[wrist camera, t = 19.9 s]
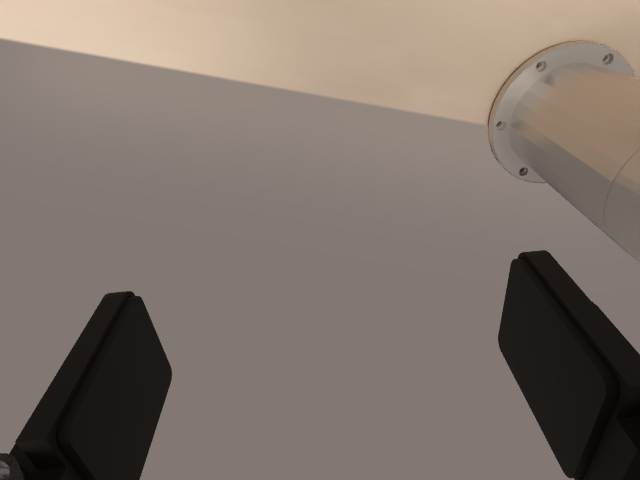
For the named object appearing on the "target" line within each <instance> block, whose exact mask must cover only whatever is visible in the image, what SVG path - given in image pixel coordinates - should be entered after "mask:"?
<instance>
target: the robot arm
mask: <svg viewBox="0 0 640 480" xmlns="http://www.w3.org/2000/svg"><path fill="white" fill-rule="evenodd" d="M538 63H539V66H538V67H536V66H537V64H538ZM499 122H500V123H499ZM498 123H499V125H497V124H498ZM488 132H489V142H490V146H491V150H492V152H493V154H494V156H495V158H496V160H497V161H498V162H499V163H500V164H501V166H502V167H503V168H504V169H505V170H507V171H508V172H509V173H510V174H511V175H513V176H515V177H517V178H518V179H521V180H525V181H529V182H534V183H548V184H549V185H550V186H552V187H553V188H554V189H555V190H556V191H557V192H558V193H560V194H561V195H562V196H563V197H564V198H565V199H566V200H568V201H569V202H570V203H571V204H572V205H573V206H574V207H575V208H577V209H578V210H579V211H580V212H581V213H582V214H583V215H585V216H586V217H587V218H588V219H589V220H591V222H593V223H594V224H595V225H596V226H597V227H598V228H599V229H601V230H602V231H603V232H604V233H605V234H606V235H608V236H609V237H610V238H611V239H612V240H613V241H614V242H616V243H617V244H618V245H619V246H620V247H621V248H622V249H624V250H625V251H626V252H627V253H628V254H630V255H631V256H632V257H634V258H635V259H637V260H638V261H640V80H639V79H636V78H635V77H634V74H633V70H632V68H631V67H630V65H629V64H628V62H627V60H626V59H625V58H624V57H623V56H622V55H621V54H620V53H618V52H617V51H616V50H614V49H612V48H610V47H608V46H606V45H602V44H599V43H595V42H587V41H574V42H566V43H562V44H559V45H556V46H553V47H550V48H548V49H546V50H544V51H542V52H540V53H538V54H536V55H535V56H533V57H532V58H531V59H529V60H528V61H526V62H525V63H524V64H523V65H522V66H521V67H519V68H518V69H517V70H516V71H515V72H514V73H513V74H512V75H511V77H510V78H509V79H508V81H507V82H506V83H505V85H504V86H503V87H502V89H501V91H500V93H499V94H498V96H497V98H496V100H495V102H494V105H493V108H492V111H491V114H490V120H489V126H488ZM498 342H499V347H500V350H501V352H502V354H503V356H504V358H505V360H506V362H507V364H508V366H509V367H510V370H511V371H512V373H513V375H514V377H515V379H516V381H517V383H518V385H519V387H520V389H521V391H522V393H523V395H524V397H525V398H526V400H527V402H528V404H529V406H530V408H531V410H532V412H533V414H534V416H535V418H536V420H537V422H538V424H539V426H540V427H541V430H542V431H543V433H544V435H545V437H546V439H547V441H548V443H549V445H550V447H551V449H552V451H553V453H554V455H555V457H556V459H557V461H558V462H559V464H560V466H561V468H562V470H563V472H564V473H565V475H566V476H567V477H569V478H574V479H575V480H640V355H639V353H638V352H637V351H636V350H635V349H634V348H633V347H632V345H631V344H630V343H629V342H628V341H627V340H626V339H625V337H624V336H623V335H622V334H621V333H620V331H619V330H618V329H617V328H616V327H615V326H614V325H613V323H612V322H611V321H610V320H609V319H608V318H607V317H606V315H605V314H604V313H603V312H602V311H601V310H600V309H599V307H598V306H597V305H595V304H594V303H593V302H591V301H590V299H589V298H588V297H587V296H586V295H585V294H584V292H583V291H582V290H581V289H580V288H579V287H578V286H577V284H576V283H575V282H574V281H573V280H572V279H571V277H570V276H569V275H568V274H567V273H566V272H565V271H564V269H563V268H562V267H561V266H560V265H559V264H558V262H557V261H556V260H555V259H554V258H553V257H552V256H551V254H550V253H549V252H547V251H545V250H543V251H532V252H523V253H520V254H519V256H518V259H514V260H513V261H512V263H511V267H510V272H509V279H508V284H507V290H506V295H505V301H504V307H503V312H502V318H501V324H500V330H499V335H498ZM171 379H172V370H171V367H170V364H169V362H168V360H167V357H166V354H165V352H164V350H163V348H162V345H161V343H160V340H159V338H158V336H157V333H156V331H155V328H154V326H153V324H152V321H151V319H150V316H149V314H148V312H147V309H146V307H145V305H144V302H143V300H142V298H141V297H140V296H135V295H134V293H133V292H131V291H126V292H116V293H108V294H106V295H105V296H104V297H103V299H102V301H101V302H100V304H99V305H98V307H97V309H96V310H95V312H94V314H93V315H92V317H91V319H90V320H89V322H88V324H87V325H86V327H85V328H84V330H83V332H82V333H81V335H80V337H79V338H78V340H77V342H76V343H75V345H74V346H73V348H72V350H71V351H70V353H69V355H68V356H67V358H66V360H65V361H64V363H63V365H62V366H61V368H60V370H59V371H58V373H57V374H56V376H55V378H54V379H53V381H52V382H51V384H50V386H49V387H48V389H47V391H46V392H45V394H44V396H43V397H42V399H41V400H40V402H39V404H38V405H37V407H36V409H35V410H34V412H33V414H32V415H31V417H30V418H29V420H28V422H27V423H26V425H25V427H24V428H23V430H22V432H21V433H20V435H19V436H18V438H17V440H16V444H15V445H14V447H13V449H12V450H11V452H10V454H7V453H0V480H139V479H140V476H141V473H142V470H143V467H144V464H145V461H146V457H147V454H148V451H149V448H150V445H151V442H152V438H153V436H154V433H155V430H156V427H157V423H158V420H159V417H160V413H161V411H162V408H163V404H164V402H165V398H166V395H167V392H168V389H169V386H170V383H171Z"/></svg>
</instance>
